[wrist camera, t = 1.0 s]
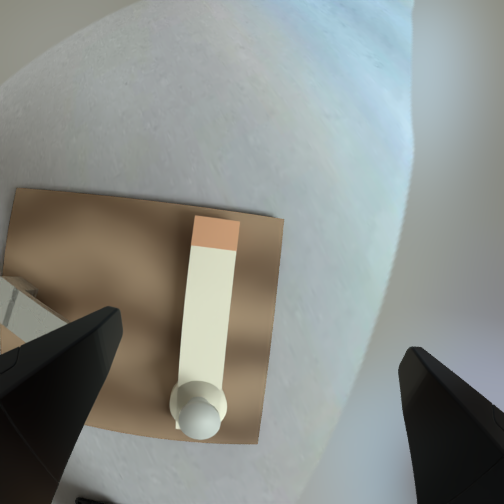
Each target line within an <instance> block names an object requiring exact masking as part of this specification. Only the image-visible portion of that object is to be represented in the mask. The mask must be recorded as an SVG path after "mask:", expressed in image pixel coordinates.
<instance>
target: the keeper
mask: <svg viewBox="0 0 504 504" xmlns="http://www.w3.org/2000/svg"><path fill="white" fill-rule="evenodd" d="M38 290H39V289H37V288H36V287H34V286H33V285H32V284H30V283H29V282H27V281H26V280H25V279H23V278H22V277H10V276H0V323H1V324H2V325H4V326H5V327H6V328H7V329H9V330H10V331H11V332H13V333H14V334H15V335H16V336H18V337H19V338H20V339H22V340H23V341H24V342H26V343H27V342H29V341H31V340H34V339H36V338H38V337H40V336H42V335H44V334H47V333H49V332H51V331H53V330H55V329H57V328H60V327H62V326H64V325H66V324H68V323H71V321H69V320H68V319H66V318H64V317H63V316H61V315H60V314H58V313H57V312H55V311H54V310H52V309H51V308H49V307H48V306H46V305H45V304H43V303H42V302H41V301H39V300H38V299H36V298H35V297H36V295H37V292H38Z"/></svg>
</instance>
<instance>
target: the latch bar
mask: <svg viewBox="0 0 504 504" xmlns="http://www.w3.org/2000/svg"><path fill="white" fill-rule="evenodd" d="M239 227H240V221H233V220H226V219H218V218H211V217H204V216H196V215H195V219H194V226H193V234H192V241H191V251H190V259H189V268H188V276H187V285H186V294H185V304H184V314H183V324H182V336H181V347H180V360H179V374H178V382H177V383H176V384H175V385H174V387H173V389H172V392H171V397H170V411H171V414H172V416H173V418H174V419H175V420H176V429H181V430H182V432H183V433H184V434H185V435H187V436H188V437H190V438H193V439H197V440H203V439H208V438H210V437H212V436H214V435H215V434H216V433H217V432H218V430H219V428H220V425H221V421H222V420H223V419H224V417H225V415H226V412H227V402H226V398H225V395H224V392H223V389H222V381H223V371H224V361H225V351H226V342H227V332H228V323H229V313H230V304H231V295H232V286H233V277H234V268H235V259H236V251H237V244H238V236H239Z"/></svg>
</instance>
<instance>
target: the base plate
mask: <svg viewBox="0 0 504 504" xmlns="http://www.w3.org/2000/svg"><path fill="white" fill-rule="evenodd" d="M195 215H196V216H204V217H211V218H218V219H226V220H233V221H240V227H239V236H238V244H237V251H236V259H235V268H234V277H233V286H232V295H231V304H230V313H229V323H228V332H227V342H226V351H225V361H224V371H223V381H222V389H223V392H224V395H225V398H226V402H227V412H226V415H225V417H224V419H223V420H222V421H221V425H220V428H219V430H218V432H217V433H216V434H215V435H214V436H212V437H210V438H208V439H203V440H197V439H193V438H190V437H188V436H187V435H185V434H184V433H183V432H182V430H181V429H176V420H175V419H174V418H173V416H172V414H171V411H170V397H171V392H172V389H173V387H174V385H175V384H176V383H177V382H178V374H179V360H180V347H181V336H182V324H183V314H184V304H185V294H186V285H187V276H188V268H189V259H190V251H191V241H192V234H193V226H194V219H195ZM283 225H284V219H280V218H273V217H267V216H260V215H253V214H247V213H240V212H233V211H226V210H219V209H211V208H204V207H197V206H189V205H181V204H173V203H165V202H157V201H149V200H140V199H131V198H122V197H113V196H104V195H94V194H84V193H73V192H62V191H51V190H39V189H26V188H17V189H16V193H15V198H14V202H13V207H12V212H11V217H10V223H9V229H8V235H7V241H6V249H5V256H4V265H3V276H10V277H22V278H23V279H25V280H26V281H27V282H29V283H30V284H32V285H33V286H34V287H36V288H37V289H39V290H38V292H37V295H36V297H35V298H36V299H38V300H39V301H41V302H42V303H43V304H45V305H46V306H48V307H49V308H51V309H52V310H54V311H55V312H57V313H58V314H60V315H61V316H63V317H64V318H66V319H68V320H69V321H71V322H73V321H75V320H77V319H79V318H82V317H84V316H86V315H88V314H90V313H92V312H95V311H97V310H99V309H101V308H103V307H106V306H112V307H116V308H119V309H120V311H121V317H122V325H123V336H122V339H121V341H120V344H119V347H118V349H117V352H116V355H115V357H114V360H113V363H112V365H111V368H110V371H109V373H108V376H107V378H106V380H105V382H104V384H103V386H102V388H101V390H100V392H99V394H98V396H97V399H96V401H95V403H94V405H93V407H92V409H91V411H90V413H89V415H88V417H87V420H86V422H85V424H84V425H88V426H92V427H97V428H101V429H106V430H111V431H116V432H121V433H127V434H133V435H139V436H146V437H153V438H160V439H168V440H178V441H188V442H201V443H219V444H258V437H259V430H260V423H261V416H262V409H263V401H264V394H265V386H266V378H267V371H268V363H269V355H270V346H271V338H272V329H273V321H274V312H275V303H276V294H277V285H278V275H279V266H280V256H281V246H282V235H283ZM25 343H26V342H24V341H23V340H22V339H20V338H19V337H18V336H16V335H15V334H14V333H13V332H11V331H10V330H9V329H7V328H6V327H5V326H4V325H2V324H1V323H0V344H1V354H3V353H5V352H7V351H10V350H12V349H14V348H16V347H18V346H19V347H20V346H21V345H23V344H25Z"/></svg>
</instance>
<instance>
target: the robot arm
mask: <svg viewBox="0 0 504 504" xmlns="http://www.w3.org/2000/svg"><path fill="white" fill-rule="evenodd" d="M122 336H123V325H122V317H121V311H120V309H119V308H116V307H112V306H106V307H103V308H101V309H99V310H97V311H95V312H92V313H90V314H88V315H86V316H84V317H82V318H79V319H77V320H75V321H73V322H71V323H68V324H66V325H64V326H62V327H60V328H57V329H55V330H53V331H51V332H49V333H47V334H44V335H42V336H40V337H38V338H36V339H34V340H31V341H29V342H27V343H25V344H23V345H21V346H20V347H19V346H18V347H16V348H14V349H12V350H10V351H7V352H5V353H3V354H1V355H0V504H51V502H52V500H53V497H54V495H55V492H56V490H57V487H58V485H59V483H58V482H60V479H61V477H62V474H63V472H64V469H65V467H66V465H67V462H68V460H69V458H70V455H71V453H72V451H73V448H74V446H75V444H76V442H77V439H78V437H79V435H80V433H81V431H82V428H83V426H84V424H85V422H86V420H87V417H88V415H89V413H90V411H91V409H92V407H93V405H94V403H95V401H96V399H97V396H98V394H99V392H100V390H101V388H102V386H103V384H104V382H105V380H106V378H107V376H108V373H109V371H110V368H111V365H112V363H113V360H114V357H115V355H116V352H117V349H118V347H119V344H120V341H121V339H122ZM398 375H399V382H400V392H401V401H402V410H403V416H404V421H405V426H406V431H407V437H408V442H409V448H410V453H411V460H412V466H413V473H414V480H415V486H416V495H417V504H504V413H503V412H502V411H501V410H500V409H499V408H497V407H496V406H495V405H492V403H491V402H490V401H489V400H487V399H486V398H485V397H484V396H482V395H481V394H480V393H479V392H477V391H476V390H475V389H474V388H472V387H471V386H470V385H469V384H467V383H466V382H465V381H464V380H462V379H461V378H460V377H459V376H457V375H456V374H455V373H453V372H452V371H451V370H450V369H449V368H447V367H446V366H445V365H443V364H442V363H441V362H440V361H438V360H437V359H436V358H434V357H433V356H432V355H431V354H429V353H428V352H427V351H426V350H424V349H423V348H421V347H409V348H408V349H407V351H406V353H405V356H404V357H403V359H402V361H401V363H400V365H399V369H398ZM79 501H80V502H79ZM75 503H76V504H104V503H99V502H95V501H91V500H87V499H83V498H79V497H78V498H76V500H75Z"/></svg>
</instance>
